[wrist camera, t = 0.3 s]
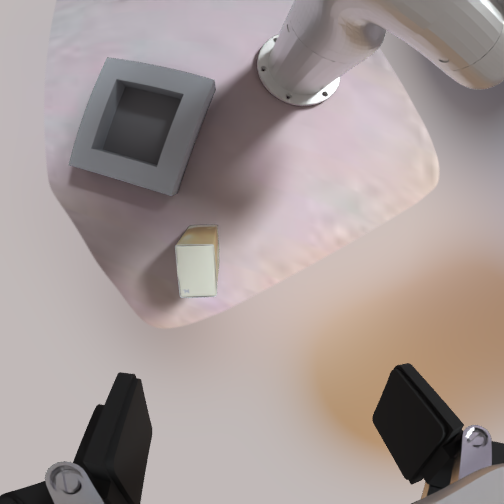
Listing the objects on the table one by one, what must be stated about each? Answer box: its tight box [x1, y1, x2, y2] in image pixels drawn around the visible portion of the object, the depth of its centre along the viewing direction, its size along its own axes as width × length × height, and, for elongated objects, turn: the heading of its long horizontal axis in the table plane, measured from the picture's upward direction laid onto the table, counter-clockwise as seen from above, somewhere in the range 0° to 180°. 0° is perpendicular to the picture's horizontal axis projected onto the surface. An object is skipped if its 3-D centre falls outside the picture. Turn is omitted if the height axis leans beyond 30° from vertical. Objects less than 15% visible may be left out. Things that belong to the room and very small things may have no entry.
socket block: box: [69, 57, 216, 196], centre depth 34 cm, size 16×16×5 cm
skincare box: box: [175, 225, 219, 298], centre depth 36 cm, size 6×4×12 cm
